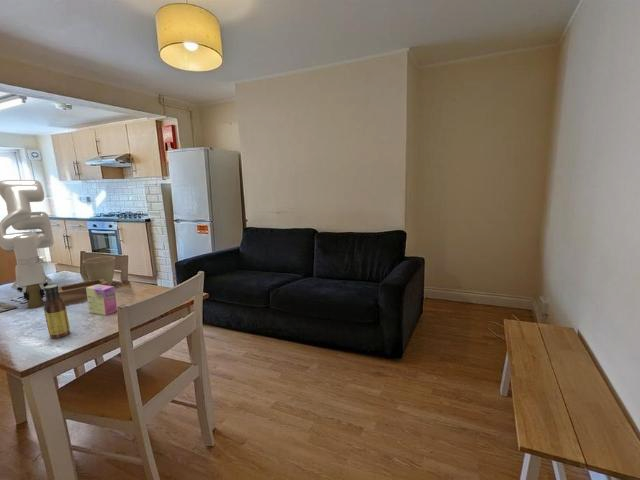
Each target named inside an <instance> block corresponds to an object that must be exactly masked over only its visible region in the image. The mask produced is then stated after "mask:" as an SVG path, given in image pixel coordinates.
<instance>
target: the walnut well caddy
mask: <svg viewBox="0 0 640 480" xmlns="http://www.w3.org/2000/svg"><path fill="white" fill-rule="evenodd" d="M97 284H99V285H107V286H108V283H107V282H106V281H105V280H104V279H97V280H92V281H91V280H88V281H82V282H76V283H71V284H64V285H60V286H59V285H58V292H59V297H61V298H62V299H63V300H64V302H65V307H66V306H71V305H75V304H80V303H84V302H88V299H87V292H86V288H87V287H90V286H93V285H97Z"/></svg>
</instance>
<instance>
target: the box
mask: <svg viewBox="0 0 640 480" xmlns="http://www.w3.org/2000/svg"><path fill="white" fill-rule="evenodd" d="M115 290H116V289H115V286H113V285H111V286H107V285H99V284H97V285H93V286H90V287H87V288H86V292H87V299H88V301H87V306H88V313H90V314H91V313H92V314H98V315H101V316H102V315H103V316H108V315H110V314H112V313H115V312H117V311H116V308H117V309H118V307H117V299H116V291H115Z"/></svg>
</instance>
